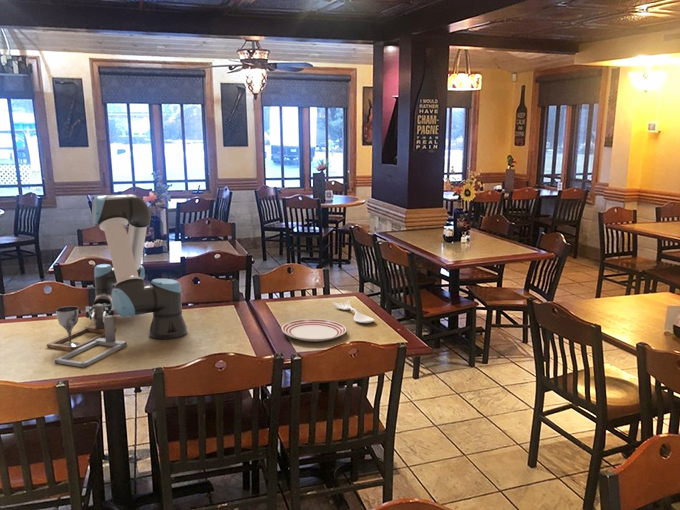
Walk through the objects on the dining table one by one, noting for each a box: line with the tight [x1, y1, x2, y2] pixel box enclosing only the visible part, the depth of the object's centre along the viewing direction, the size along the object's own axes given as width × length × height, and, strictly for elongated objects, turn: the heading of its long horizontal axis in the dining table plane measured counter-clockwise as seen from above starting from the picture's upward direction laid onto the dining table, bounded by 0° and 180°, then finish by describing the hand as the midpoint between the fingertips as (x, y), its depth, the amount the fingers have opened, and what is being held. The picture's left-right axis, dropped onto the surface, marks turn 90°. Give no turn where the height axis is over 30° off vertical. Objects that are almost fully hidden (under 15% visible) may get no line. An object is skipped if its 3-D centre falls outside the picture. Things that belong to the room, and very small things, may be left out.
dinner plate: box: [281, 318, 347, 343], centre depth 247 cm, size 27×27×3 cm
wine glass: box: [55, 305, 81, 346], centre depth 229 cm, size 8×8×15 cm
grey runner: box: [53, 315, 128, 368], centre depth 221 cm, size 13×24×12 cm, turn 163°
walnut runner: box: [46, 304, 116, 352], centre depth 236 cm, size 13×24×12 cm, turn 163°
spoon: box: [332, 300, 375, 324], centre depth 274 cm, size 9×32×4 cm, turn 24°
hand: (98, 319), depth 240 cm, fingers closed on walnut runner, 4 cm apart
